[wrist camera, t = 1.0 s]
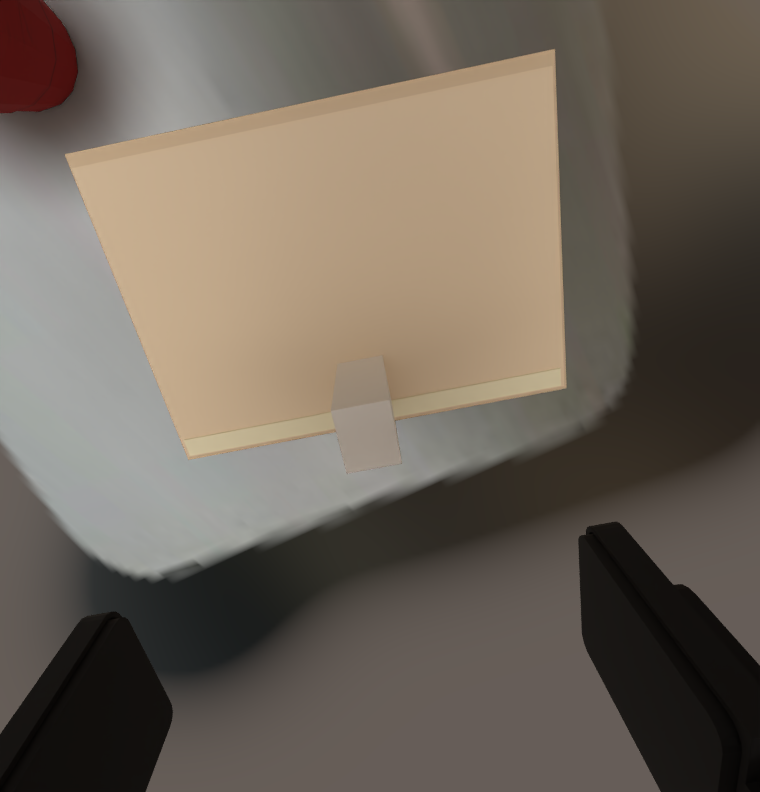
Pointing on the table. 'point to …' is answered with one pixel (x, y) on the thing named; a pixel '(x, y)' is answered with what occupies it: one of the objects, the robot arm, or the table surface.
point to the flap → (344, 266)
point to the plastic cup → (34, 57)
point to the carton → (327, 107)
